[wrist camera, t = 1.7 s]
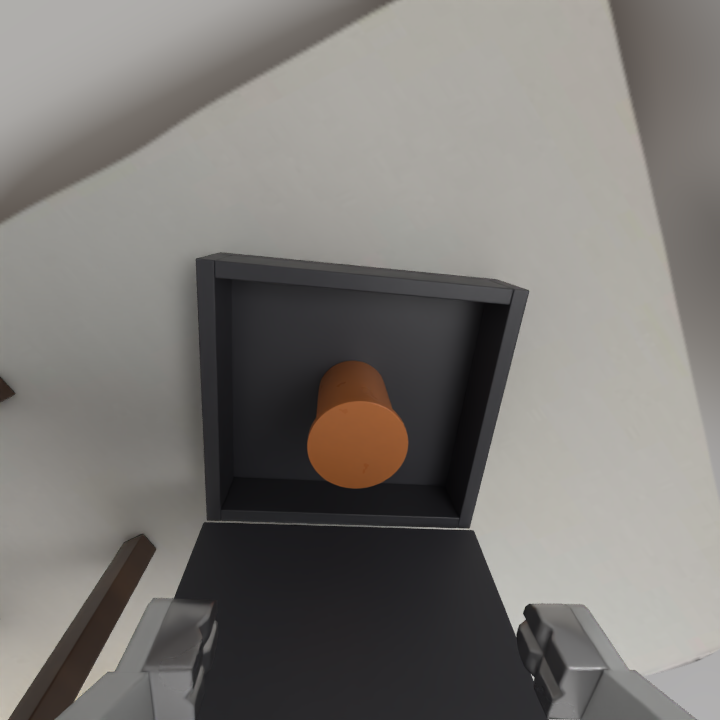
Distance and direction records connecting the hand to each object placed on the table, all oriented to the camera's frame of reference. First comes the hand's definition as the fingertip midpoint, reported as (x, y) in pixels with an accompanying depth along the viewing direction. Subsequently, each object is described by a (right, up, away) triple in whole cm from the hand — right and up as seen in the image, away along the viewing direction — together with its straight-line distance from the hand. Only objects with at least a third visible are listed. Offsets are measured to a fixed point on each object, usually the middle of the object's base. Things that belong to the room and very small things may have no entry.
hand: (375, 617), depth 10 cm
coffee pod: (-1, +5, +13) cm, 14 cm away
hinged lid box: (-1, +5, +14) cm, 15 cm away
